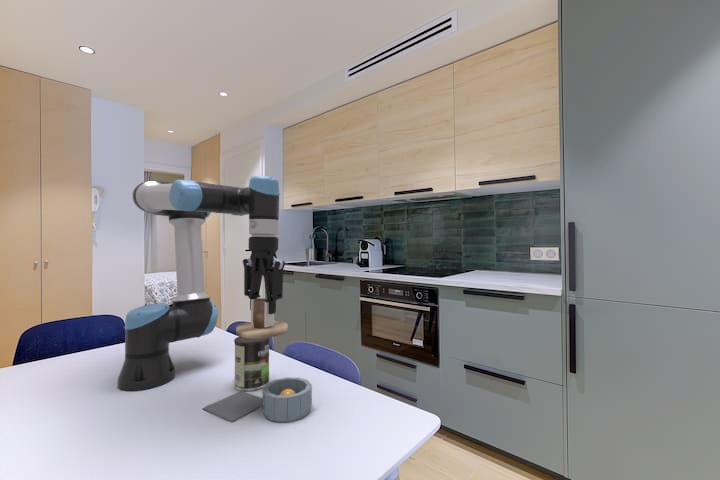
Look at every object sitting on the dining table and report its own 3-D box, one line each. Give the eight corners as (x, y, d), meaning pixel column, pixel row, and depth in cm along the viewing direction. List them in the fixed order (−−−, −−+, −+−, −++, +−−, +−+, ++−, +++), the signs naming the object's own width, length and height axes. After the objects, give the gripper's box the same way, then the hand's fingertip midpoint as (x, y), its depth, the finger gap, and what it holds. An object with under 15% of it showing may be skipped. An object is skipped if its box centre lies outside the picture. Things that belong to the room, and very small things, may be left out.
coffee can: (275, 378, 106) (275, 334, 106) (259, 392, 96) (259, 343, 96) (245, 376, 108) (245, 332, 108) (227, 389, 98) (227, 341, 98)
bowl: (253, 413, 84) (253, 390, 84) (287, 395, 94) (287, 374, 94) (287, 428, 77) (287, 402, 77) (320, 406, 87) (320, 383, 87)
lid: (225, 332, 85) (225, 300, 85) (264, 322, 96) (264, 294, 96) (260, 341, 78) (260, 306, 78) (297, 329, 89) (298, 298, 89)
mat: (202, 409, 86) (202, 407, 86) (241, 392, 96) (241, 390, 96) (231, 422, 80) (231, 421, 80) (270, 402, 90) (270, 401, 90)
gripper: (230, 235, 89) (228, 322, 89) (277, 236, 79) (275, 333, 80) (252, 236, 95) (251, 317, 95) (298, 236, 86) (297, 326, 86)
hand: (262, 324), depth 87 cm, fingers closed on lid, 4 cm apart
